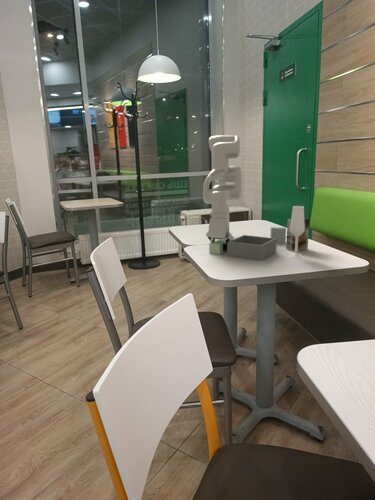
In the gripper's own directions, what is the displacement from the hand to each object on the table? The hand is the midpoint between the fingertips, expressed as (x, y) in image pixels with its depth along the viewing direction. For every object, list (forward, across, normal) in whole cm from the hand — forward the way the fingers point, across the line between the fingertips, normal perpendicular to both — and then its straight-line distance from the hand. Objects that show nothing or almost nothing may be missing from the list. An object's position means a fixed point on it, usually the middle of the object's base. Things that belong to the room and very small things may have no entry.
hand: (219, 249), depth 183 cm
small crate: (+1, 0, 0) cm, 1 cm away
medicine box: (+1, +19, +33) cm, 38 cm away
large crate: (+1, +17, +3) cm, 17 cm away
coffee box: (+1, +33, +23) cm, 40 cm away
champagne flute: (+1, +37, +9) cm, 38 cm away
